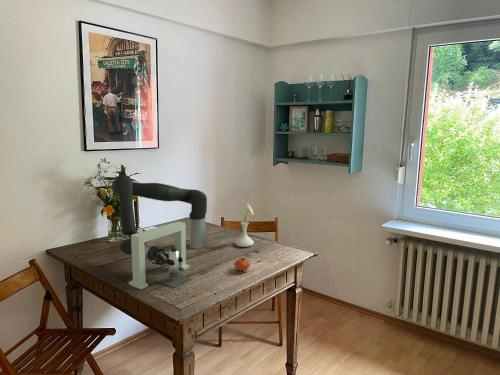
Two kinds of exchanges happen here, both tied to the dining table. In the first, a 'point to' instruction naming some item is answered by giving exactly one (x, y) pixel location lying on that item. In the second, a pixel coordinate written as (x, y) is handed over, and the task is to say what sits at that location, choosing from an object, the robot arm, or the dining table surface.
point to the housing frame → (151, 234)
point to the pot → (242, 264)
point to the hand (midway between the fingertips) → (177, 261)
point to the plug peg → (175, 257)
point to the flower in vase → (244, 239)
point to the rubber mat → (174, 280)
